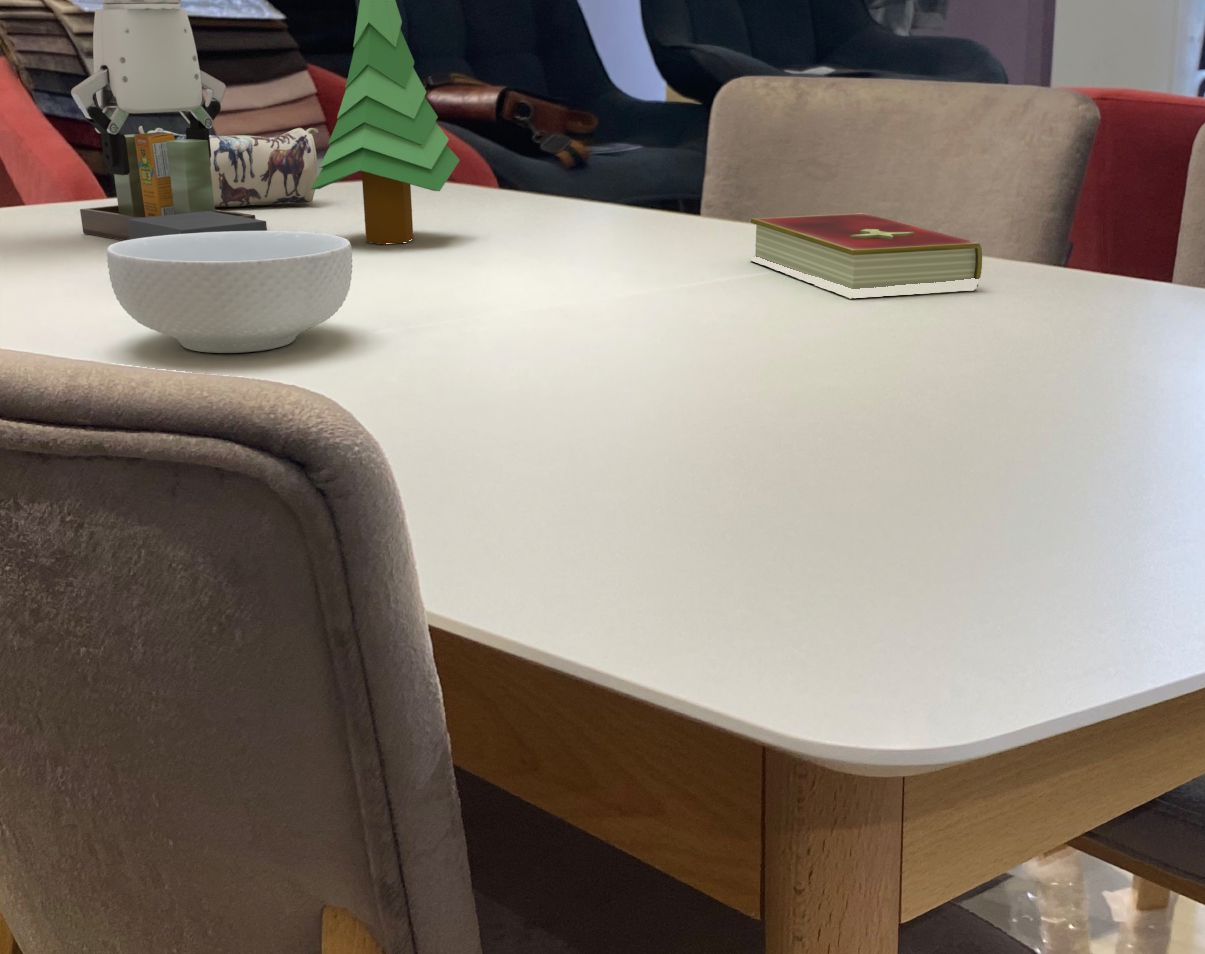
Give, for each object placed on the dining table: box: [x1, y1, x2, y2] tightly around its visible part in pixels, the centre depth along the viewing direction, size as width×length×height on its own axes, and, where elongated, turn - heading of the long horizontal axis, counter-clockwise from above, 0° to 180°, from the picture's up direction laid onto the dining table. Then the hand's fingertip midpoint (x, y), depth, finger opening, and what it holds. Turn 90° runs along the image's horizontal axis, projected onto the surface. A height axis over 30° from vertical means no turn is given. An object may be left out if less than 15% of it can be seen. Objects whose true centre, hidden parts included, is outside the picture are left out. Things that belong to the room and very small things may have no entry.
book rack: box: [79, 133, 256, 241], centre depth 153 cm, size 9×19×10 cm, turn 48°
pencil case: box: [138, 125, 319, 208], centre depth 177 cm, size 22×8×10 cm, turn 106°
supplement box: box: [134, 132, 175, 217], centre depth 152 cm, size 3×3×10 cm
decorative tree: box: [310, 0, 461, 245], centre depth 145 cm, size 14×16×30 cm
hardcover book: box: [750, 212, 983, 289], centre depth 128 cm, size 12×21×4 cm, turn 17°
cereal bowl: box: [106, 230, 353, 354], centre depth 102 cm, size 17×17×7 cm
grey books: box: [127, 211, 268, 240], centre depth 127 cm, size 10×11×5 cm
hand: (160, 170), depth 152 cm, fingers open, 9 cm apart
